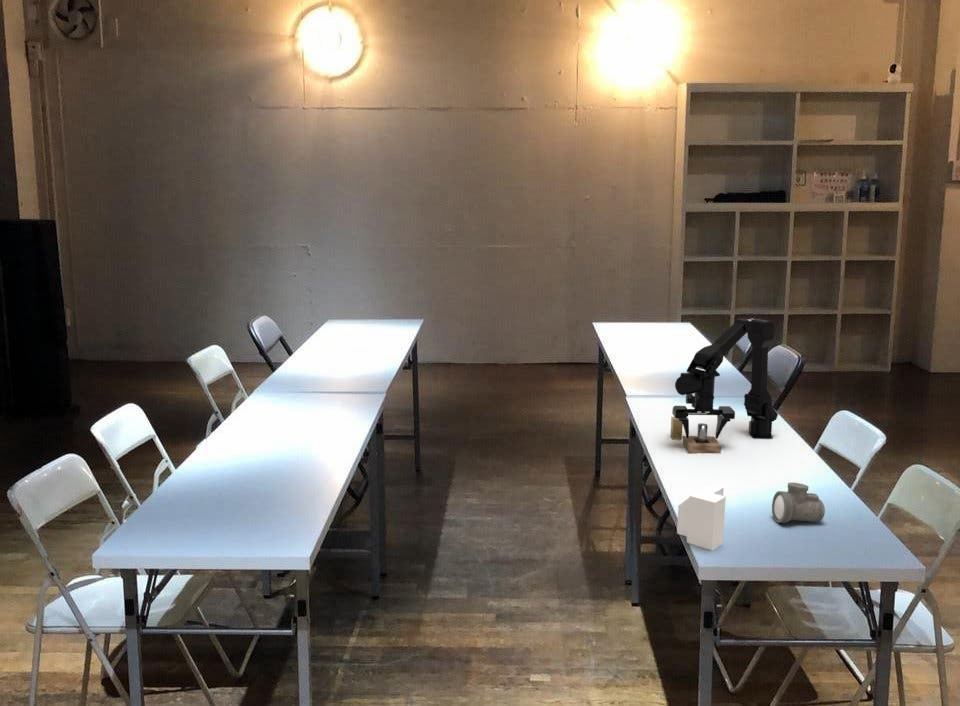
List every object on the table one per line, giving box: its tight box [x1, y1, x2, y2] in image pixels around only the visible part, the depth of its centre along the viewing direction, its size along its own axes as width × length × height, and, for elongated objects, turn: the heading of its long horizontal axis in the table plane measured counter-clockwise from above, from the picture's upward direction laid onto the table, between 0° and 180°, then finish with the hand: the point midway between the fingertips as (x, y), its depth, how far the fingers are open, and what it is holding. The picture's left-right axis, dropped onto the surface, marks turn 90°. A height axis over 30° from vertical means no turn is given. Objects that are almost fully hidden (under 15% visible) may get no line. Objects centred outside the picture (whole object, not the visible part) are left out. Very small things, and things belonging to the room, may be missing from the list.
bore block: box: [682, 435, 722, 454], centre depth 296 cm, size 10×10×3 cm
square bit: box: [669, 416, 684, 441], centre depth 307 cm, size 3×3×7 cm
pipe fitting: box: [771, 481, 826, 524], centre depth 237 cm, size 12×8×10 cm
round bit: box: [696, 422, 709, 443], centre depth 296 cm, size 3×3×8 cm
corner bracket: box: [676, 484, 727, 551], centre depth 226 cm, size 11×11×12 cm
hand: (701, 438), depth 296 cm, fingers open, 9 cm apart
